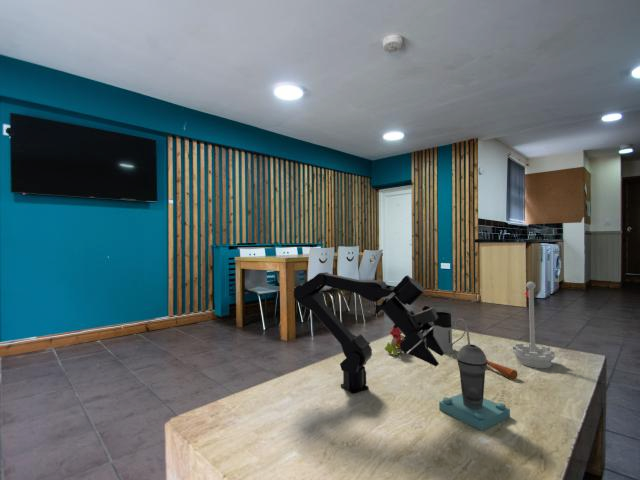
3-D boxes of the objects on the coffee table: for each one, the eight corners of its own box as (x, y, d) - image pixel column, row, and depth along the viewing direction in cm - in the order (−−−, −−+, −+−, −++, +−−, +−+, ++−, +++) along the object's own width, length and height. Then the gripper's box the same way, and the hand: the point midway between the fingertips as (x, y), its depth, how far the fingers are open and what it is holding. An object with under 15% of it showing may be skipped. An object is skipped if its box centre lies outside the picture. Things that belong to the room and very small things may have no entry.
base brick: (481, 430, 76) (481, 418, 77) (439, 409, 87) (439, 398, 87) (510, 416, 83) (509, 405, 83) (467, 398, 93) (467, 388, 93)
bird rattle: (395, 355, 137) (379, 350, 133) (403, 329, 139) (387, 323, 135) (406, 359, 131) (390, 354, 127) (413, 333, 134) (398, 326, 130)
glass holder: (435, 344, 144) (434, 310, 144) (469, 351, 135) (469, 314, 135) (428, 349, 137) (427, 314, 137) (463, 356, 128) (462, 318, 128)
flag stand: (562, 369, 113) (560, 283, 114) (522, 368, 115) (519, 283, 116) (543, 357, 126) (541, 279, 127) (507, 356, 128) (505, 279, 129)
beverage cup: (476, 414, 80) (475, 333, 80) (451, 402, 86) (450, 327, 87) (494, 407, 84) (492, 329, 84) (469, 396, 90) (467, 323, 90)
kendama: (506, 369, 104) (459, 347, 123) (508, 386, 105) (460, 362, 124) (519, 363, 106) (471, 342, 125) (521, 380, 107) (472, 357, 126)
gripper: (411, 302, 84) (458, 351, 78) (426, 293, 100) (466, 333, 94) (382, 329, 87) (425, 378, 82) (401, 316, 104) (438, 356, 98)
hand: (440, 359), depth 89 cm, fingers open, 9 cm apart
